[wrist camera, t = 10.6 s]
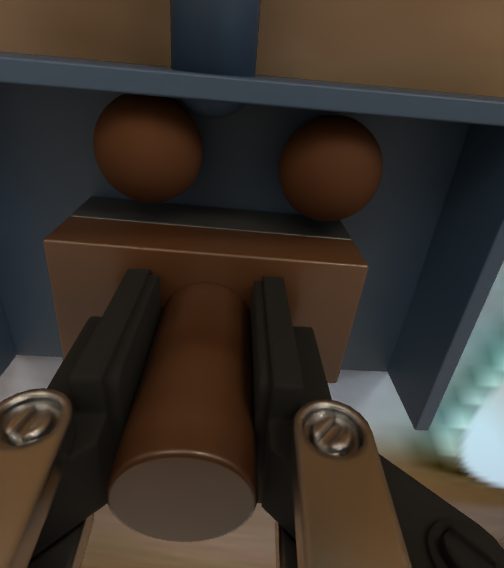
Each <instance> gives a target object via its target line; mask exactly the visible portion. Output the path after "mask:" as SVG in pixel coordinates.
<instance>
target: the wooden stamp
mask: <svg viewBox="0 0 504 568" xmlns="http://www.w3.org/2000/svg"><path fill="white" fill-rule="evenodd" d="M43 245H44V251H45V257H46V262H47V268H48V274H49V279H50V285H51V291H52V296H53V302H54V308H55V313H56V319H57V325H58V330H59V336H60V342H61V347H62V353H63V359H65V357H66V356H67V354H68V352H69V350H70V349H71V347H72V345H73V344H74V342H75V340H76V339H77V337H78V335H79V334H80V332H81V330H82V329H83V327H84V325H85V324H86V322H87V320H88V319H89V318H90V317H92V316H99V317H102V316H103V314H104V312H105V310H106V308H107V307H108V305H109V303H110V301H111V299H112V297H113V296H114V294H115V292H116V290H117V288H118V286H119V285H120V283H121V281H122V279H123V277H124V275H125V274H126V272H127V270H128V269H129V268H132V269H149V270H151V271H152V274H153V275H158V276H159V277H160V290H161V312H162V313H161V316H160V319H159V322H158V325H157V328H156V331H155V334H154V338H153V341H152V344H151V347H150V350H149V353H148V356H147V359H146V363H145V366H144V369H143V372H142V375H141V378H140V381H139V384H138V387H137V391H136V394H135V397H134V400H133V403H132V406H131V409H130V412H129V416H128V419H127V422H126V425H125V428H124V431H123V434H122V437H121V440H120V444H119V447H118V450H117V453H116V456H115V459H114V462H113V465H112V469H111V472H110V475H109V478H108V481H107V485H106V498H107V502H108V505H109V508H110V510H111V511H112V513H113V514H114V515H115V516H116V517H117V519H118V520H119V521H121V522H122V523H123V524H124V525H126V526H128V527H129V528H131V529H132V530H135V531H137V532H139V533H141V534H144V535H146V536H149V537H153V538H157V539H161V540H167V541H177V542H193V541H203V540H209V539H213V538H217V537H220V536H223V535H226V534H228V533H230V532H232V531H234V530H236V529H238V528H239V527H240V526H242V525H243V524H244V523H245V522H246V521H247V520H248V519H249V518H250V517H251V515H252V513H253V511H254V510H255V507H256V504H257V501H258V480H257V453H256V436H255V428H254V398H253V368H252V338H251V308H252V297H253V286H254V281H262V276H273V277H283V278H284V282H285V287H286V293H287V298H288V303H289V309H290V314H291V319H292V325H293V326H301V327H312V328H313V331H314V334H315V338H316V342H317V346H318V349H319V353H320V357H321V361H322V365H323V369H324V372H325V376H326V380H327V383H336V382H337V380H338V376H339V373H340V369H341V365H342V362H343V358H344V354H345V351H346V347H347V344H348V340H349V336H350V333H351V329H352V326H353V322H354V318H355V315H356V311H357V308H358V304H359V300H360V297H361V293H362V290H363V286H364V282H365V279H366V275H367V272H368V268H369V267H368V264H367V263H366V261H365V259H364V258H363V256H362V255H361V253H360V251H359V250H358V248H357V246H356V245H355V243H354V242H353V241H352V238H351V236H350V235H349V233H348V232H347V230H346V228H345V227H344V225H343V224H342V222H341V220H337V221H318V220H314V219H311V218H308V217H306V216H304V215H296V214H285V213H274V212H263V211H251V210H240V209H229V208H218V207H207V206H195V205H184V204H173V203H162V202H158V203H147V202H141V201H137V200H128V199H117V198H106V197H95V196H92V197H90V198H89V199H88V200H86V201H85V202H84V203H83V204H82V205H81V206H80V207H79V208H77V209H76V210H75V211H74V212H73V213H72V214H71V215H70V217H68V218H67V219H66V220H64V221H63V222H62V223H61V224H60V225H59V226H58V227H57V228H55V229H54V230H53V231H52V232H51V233H50V234H49V235H48V236H46V237H45V238H44V240H43Z"/></svg>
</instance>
